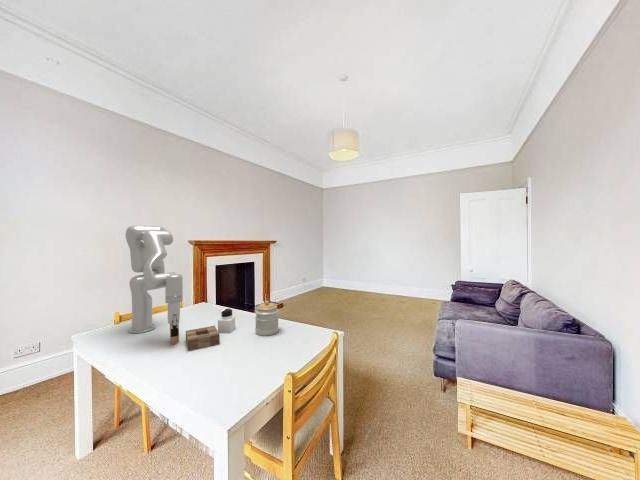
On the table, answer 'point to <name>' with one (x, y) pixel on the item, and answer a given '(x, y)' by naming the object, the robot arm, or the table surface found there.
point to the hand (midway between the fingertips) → (174, 334)
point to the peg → (176, 338)
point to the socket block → (202, 338)
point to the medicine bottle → (226, 321)
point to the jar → (266, 319)
